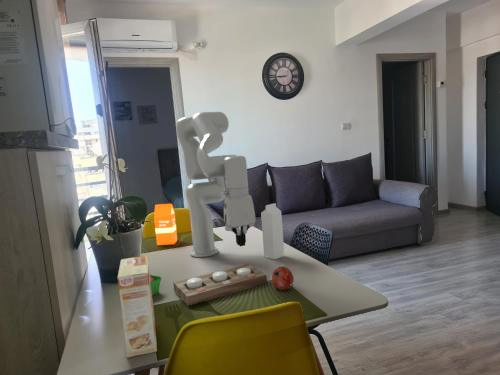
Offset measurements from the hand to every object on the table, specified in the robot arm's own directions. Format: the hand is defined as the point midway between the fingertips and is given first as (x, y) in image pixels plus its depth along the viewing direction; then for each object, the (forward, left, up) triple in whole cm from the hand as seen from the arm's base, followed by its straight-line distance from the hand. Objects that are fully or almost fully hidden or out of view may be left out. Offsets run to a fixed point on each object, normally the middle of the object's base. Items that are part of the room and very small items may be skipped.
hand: (241, 245), depth 124 cm
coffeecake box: (+18, -39, -13) cm, 45 cm away
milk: (-15, +22, -13) cm, 30 cm away
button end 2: (0, 0, -11) cm, 11 cm away
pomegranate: (+14, +7, -13) cm, 20 cm away
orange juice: (-71, -7, -13) cm, 72 cm away
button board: (0, -9, -13) cm, 15 cm away
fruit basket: (-10, -33, -13) cm, 37 cm away
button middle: (0, -9, -10) cm, 14 cm away
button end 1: (0, -18, -10) cm, 21 cm away
